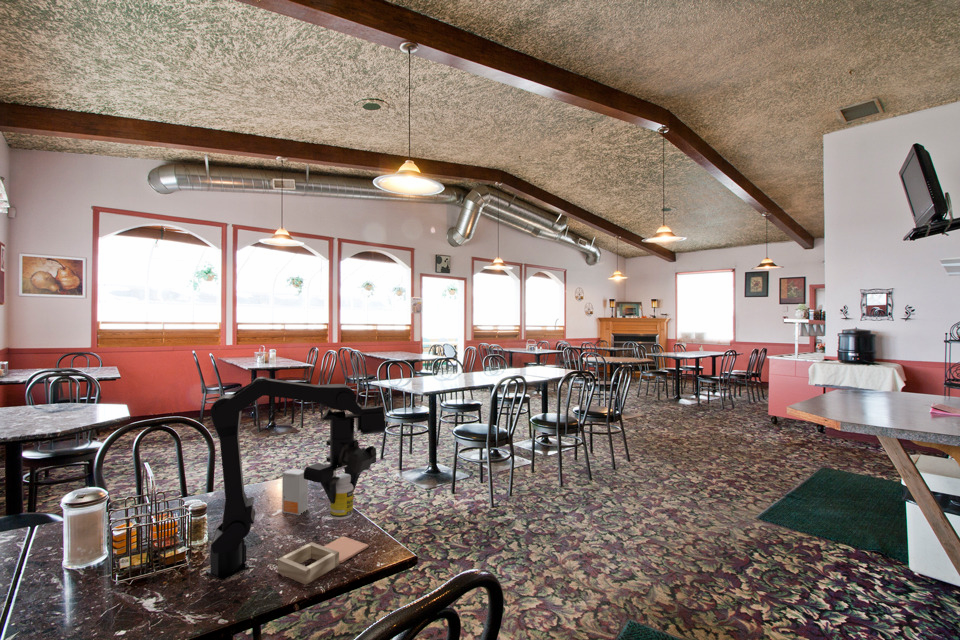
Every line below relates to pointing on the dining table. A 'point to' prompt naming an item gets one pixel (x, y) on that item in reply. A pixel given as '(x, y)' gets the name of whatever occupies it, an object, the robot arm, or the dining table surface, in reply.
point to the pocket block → (305, 575)
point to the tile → (346, 547)
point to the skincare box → (294, 492)
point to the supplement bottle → (342, 498)
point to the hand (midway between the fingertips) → (341, 499)
